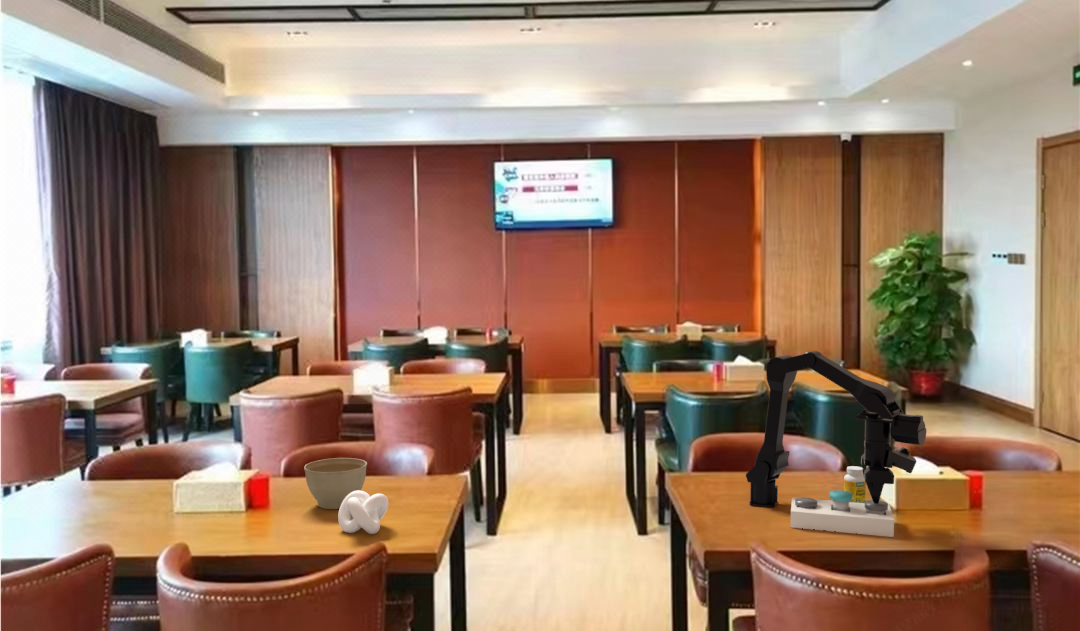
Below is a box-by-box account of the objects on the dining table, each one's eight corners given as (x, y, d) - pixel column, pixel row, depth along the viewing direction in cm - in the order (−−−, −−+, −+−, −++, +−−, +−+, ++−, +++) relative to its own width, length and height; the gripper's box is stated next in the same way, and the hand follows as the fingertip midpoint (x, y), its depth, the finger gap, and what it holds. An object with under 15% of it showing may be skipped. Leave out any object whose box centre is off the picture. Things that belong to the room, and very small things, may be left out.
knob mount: (790, 527, 201) (790, 511, 201) (791, 512, 213) (792, 497, 212) (893, 536, 194) (893, 520, 194) (889, 521, 205) (889, 505, 205)
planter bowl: (379, 503, 223) (379, 463, 222) (327, 518, 211) (326, 475, 210) (345, 492, 233) (344, 454, 233) (293, 505, 222) (292, 465, 221)
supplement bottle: (851, 499, 224) (852, 464, 223) (869, 504, 219) (870, 468, 219) (839, 502, 221) (839, 467, 220) (856, 507, 216) (857, 471, 216)
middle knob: (829, 514, 201) (829, 495, 201) (829, 508, 206) (829, 489, 206) (852, 516, 200) (852, 497, 199) (851, 510, 205) (851, 491, 204)
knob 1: (794, 521, 204) (795, 502, 204) (795, 515, 209) (795, 496, 209) (817, 523, 203) (817, 504, 202) (817, 516, 207) (817, 498, 207)
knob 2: (864, 524, 199) (865, 505, 199) (863, 517, 204) (864, 499, 204) (888, 526, 197) (888, 507, 197) (886, 519, 202) (886, 500, 202)
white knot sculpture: (390, 537, 196) (389, 500, 195) (337, 541, 194) (336, 503, 193) (388, 522, 207) (387, 486, 206) (338, 525, 205) (337, 490, 204)
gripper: (918, 450, 188) (917, 517, 189) (909, 433, 206) (908, 495, 207) (866, 446, 191) (864, 513, 193) (861, 430, 209) (860, 491, 210)
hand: (875, 503), depth 200 cm, fingers closed, pressing on knob 2
